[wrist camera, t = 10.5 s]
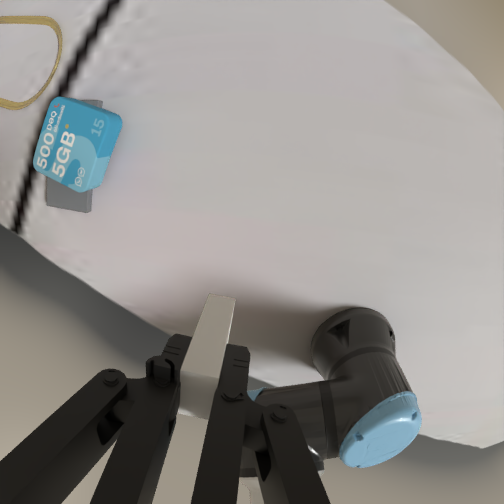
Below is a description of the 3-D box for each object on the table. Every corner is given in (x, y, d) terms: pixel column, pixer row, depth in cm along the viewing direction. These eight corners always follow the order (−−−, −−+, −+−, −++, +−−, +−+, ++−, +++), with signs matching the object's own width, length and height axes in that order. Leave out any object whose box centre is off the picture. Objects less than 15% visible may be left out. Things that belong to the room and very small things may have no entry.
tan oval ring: (43, 118, 41) (38, 118, 40) (-42, 92, 38) (-46, 93, 37) (82, 20, 35) (77, 18, 34) (-16, 18, 32) (-20, 17, 31)
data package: (84, 196, 39) (30, 168, 38) (99, 190, 44) (47, 164, 42) (112, 116, 35) (52, 94, 34) (126, 117, 40) (69, 96, 38)
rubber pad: (91, 210, 46) (86, 213, 45) (51, 203, 46) (46, 205, 45) (102, 101, 40) (98, 100, 39) (60, 101, 40) (55, 101, 39)
